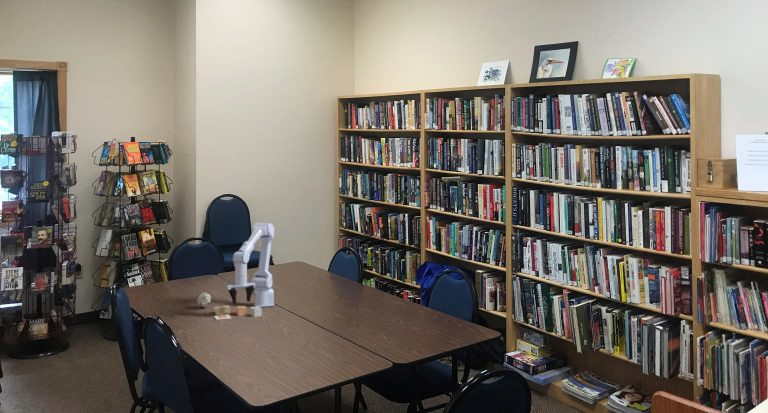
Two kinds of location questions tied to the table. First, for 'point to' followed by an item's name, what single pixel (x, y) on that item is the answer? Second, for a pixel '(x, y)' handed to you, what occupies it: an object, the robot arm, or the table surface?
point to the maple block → (222, 310)
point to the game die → (204, 299)
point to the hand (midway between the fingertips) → (241, 302)
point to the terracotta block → (241, 310)
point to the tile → (222, 317)
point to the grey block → (255, 311)
